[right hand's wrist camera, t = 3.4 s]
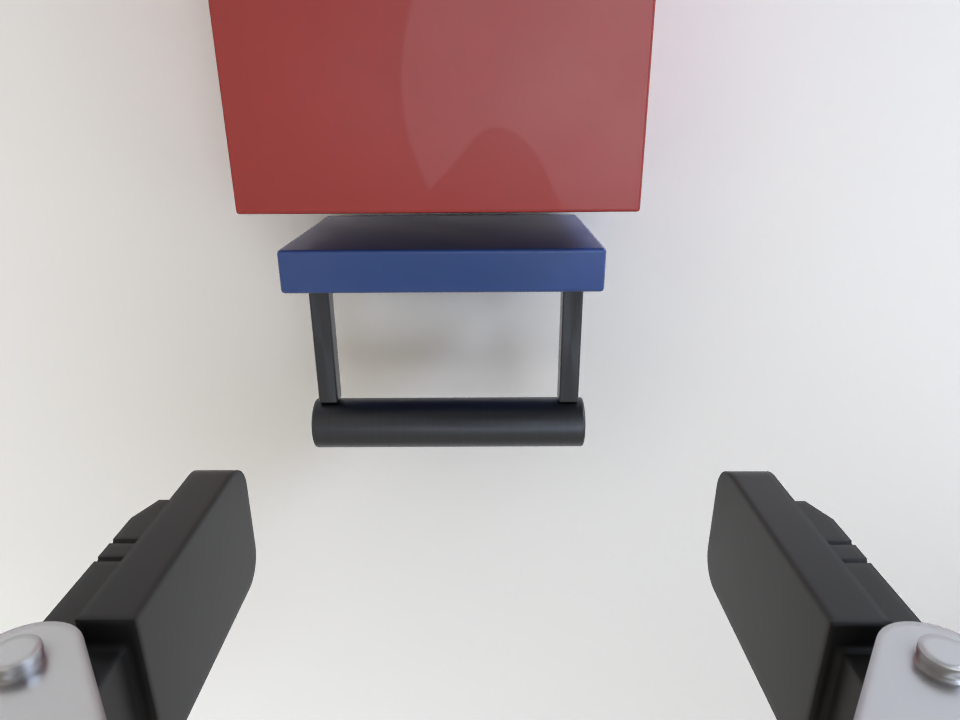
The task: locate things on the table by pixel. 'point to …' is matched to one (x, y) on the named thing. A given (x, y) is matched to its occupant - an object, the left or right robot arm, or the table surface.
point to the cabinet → (434, 104)
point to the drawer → (445, 268)
